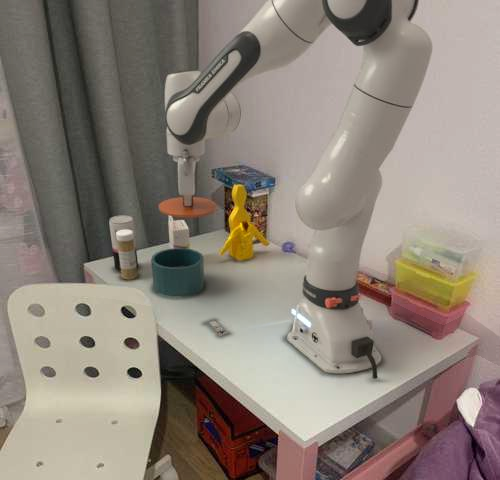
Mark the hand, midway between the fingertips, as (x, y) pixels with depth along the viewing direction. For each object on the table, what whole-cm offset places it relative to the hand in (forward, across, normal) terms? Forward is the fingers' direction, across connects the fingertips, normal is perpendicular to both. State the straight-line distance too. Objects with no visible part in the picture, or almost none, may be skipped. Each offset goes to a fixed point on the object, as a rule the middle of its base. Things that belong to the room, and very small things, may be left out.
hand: (188, 202), depth 122 cm
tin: (+23, 0, +3) cm, 24 cm away
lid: (+1, 0, 0) cm, 1 cm away
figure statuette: (+24, +19, -16) cm, 34 cm away
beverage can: (+24, +12, +19) cm, 33 cm away
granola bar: (+24, -22, -6) cm, 33 cm away
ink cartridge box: (+24, +16, +3) cm, 29 cm away
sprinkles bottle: (+24, +6, +17) cm, 30 cm away
